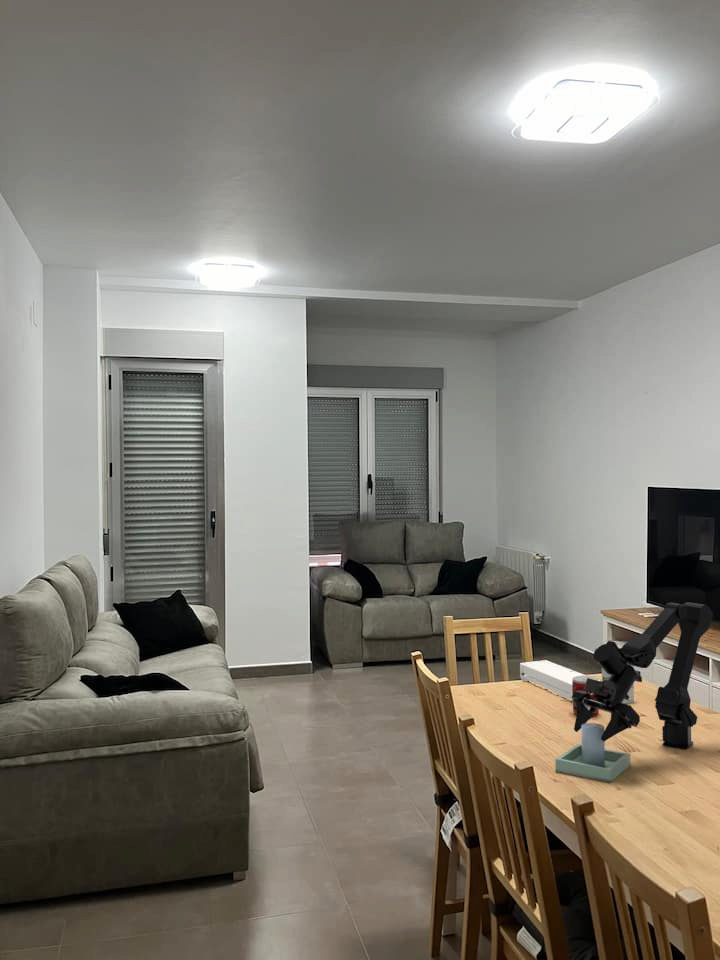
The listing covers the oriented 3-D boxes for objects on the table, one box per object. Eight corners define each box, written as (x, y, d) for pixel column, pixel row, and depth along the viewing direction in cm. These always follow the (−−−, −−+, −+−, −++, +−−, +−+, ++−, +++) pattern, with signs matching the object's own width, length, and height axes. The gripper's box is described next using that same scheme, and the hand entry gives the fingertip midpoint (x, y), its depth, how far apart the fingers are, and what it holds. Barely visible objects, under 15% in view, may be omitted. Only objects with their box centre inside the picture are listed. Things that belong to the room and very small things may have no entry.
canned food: (570, 716, 256) (569, 680, 256) (576, 709, 263) (575, 674, 263) (595, 719, 253) (595, 682, 253) (601, 711, 260) (600, 676, 260)
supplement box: (601, 700, 273) (600, 661, 273) (619, 697, 276) (618, 658, 276) (617, 705, 266) (616, 666, 266) (635, 702, 269) (634, 663, 269)
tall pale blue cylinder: (604, 762, 213) (604, 723, 213) (605, 770, 208) (604, 730, 208) (582, 761, 215) (581, 722, 215) (581, 768, 210) (581, 728, 209)
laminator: (602, 699, 275) (601, 680, 275) (570, 703, 271) (569, 684, 271) (546, 676, 307) (546, 659, 307) (517, 680, 303) (516, 663, 303)
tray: (630, 765, 213) (630, 753, 213) (609, 782, 202) (609, 770, 202) (578, 755, 221) (577, 743, 221) (555, 771, 210) (555, 759, 210)
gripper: (575, 659, 221) (545, 708, 216) (630, 673, 205) (599, 726, 200) (597, 684, 225) (568, 733, 220) (653, 700, 209) (623, 752, 204)
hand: (588, 735), depth 211 cm, fingers open, 9 cm apart
